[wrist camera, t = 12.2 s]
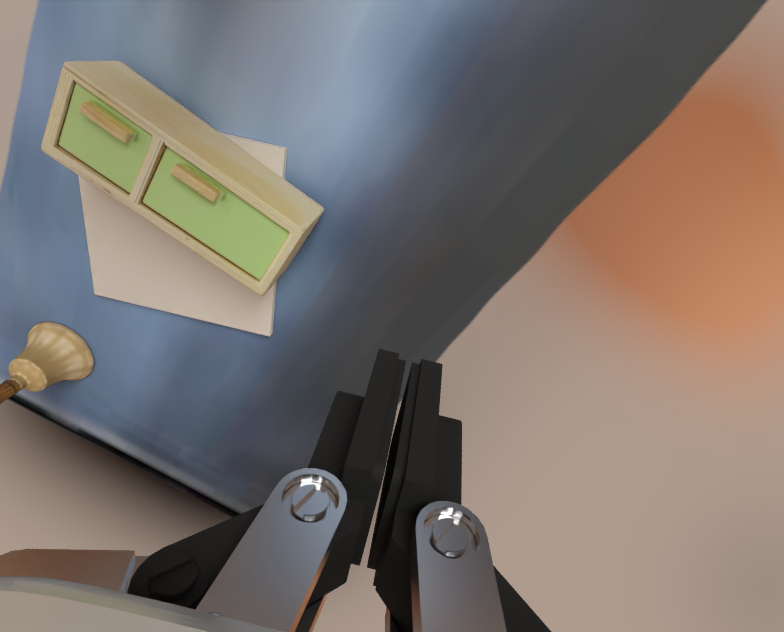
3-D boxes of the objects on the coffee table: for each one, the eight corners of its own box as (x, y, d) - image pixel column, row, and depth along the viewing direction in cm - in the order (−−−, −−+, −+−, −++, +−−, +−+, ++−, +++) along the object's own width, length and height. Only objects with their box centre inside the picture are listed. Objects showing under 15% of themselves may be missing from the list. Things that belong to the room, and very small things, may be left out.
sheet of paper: (74, 98, 43) (67, 99, 42) (287, 147, 42) (284, 149, 42) (99, 291, 53) (94, 294, 52) (272, 332, 52) (270, 336, 52)
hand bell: (18, 345, 58) (-122, 434, 45) (47, 308, 55) (-93, 393, 41) (75, 389, 61) (-41, 487, 47) (107, 356, 57) (-8, 452, 43)
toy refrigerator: (257, 303, 41) (30, 150, 37) (285, 270, 47) (95, 137, 44) (302, 235, 37) (56, 57, 34) (327, 209, 44) (122, 57, 40)
